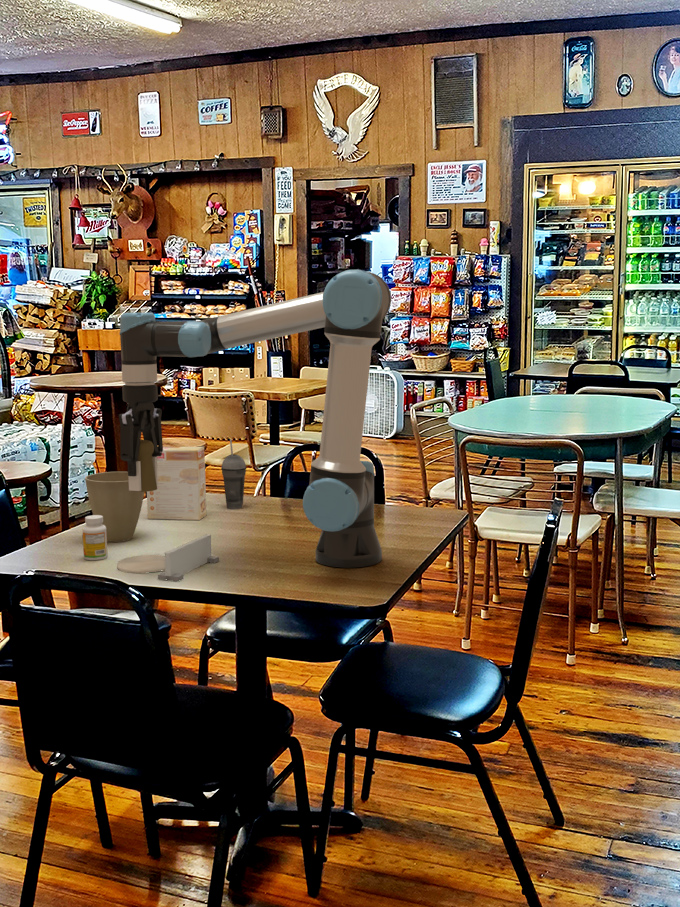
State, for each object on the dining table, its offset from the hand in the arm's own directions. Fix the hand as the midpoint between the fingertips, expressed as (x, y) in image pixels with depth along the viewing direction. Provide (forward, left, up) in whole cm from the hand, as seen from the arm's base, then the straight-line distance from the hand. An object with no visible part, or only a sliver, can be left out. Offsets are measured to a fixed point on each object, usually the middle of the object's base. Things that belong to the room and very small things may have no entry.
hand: (143, 487), depth 214 cm
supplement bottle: (+15, -2, -18) cm, 24 cm away
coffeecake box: (+20, -47, -18) cm, 54 cm away
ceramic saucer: (0, 0, -18) cm, 18 cm away
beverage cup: (+11, -64, -18) cm, 67 cm away
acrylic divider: (-11, 0, -18) cm, 21 cm away
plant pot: (+21, -20, -18) cm, 34 cm away
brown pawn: (0, 0, -1) cm, 1 cm away
